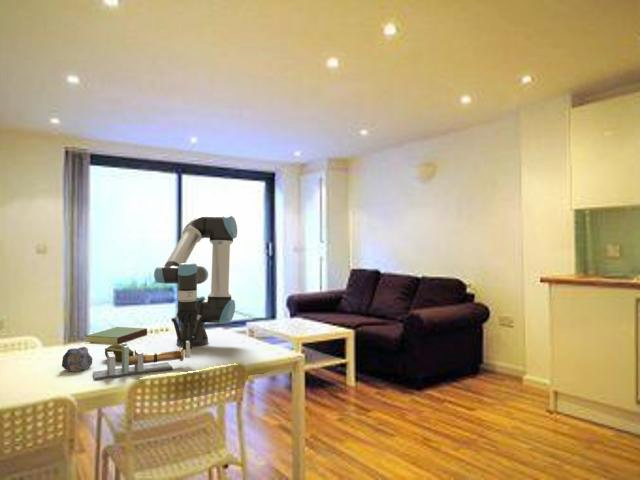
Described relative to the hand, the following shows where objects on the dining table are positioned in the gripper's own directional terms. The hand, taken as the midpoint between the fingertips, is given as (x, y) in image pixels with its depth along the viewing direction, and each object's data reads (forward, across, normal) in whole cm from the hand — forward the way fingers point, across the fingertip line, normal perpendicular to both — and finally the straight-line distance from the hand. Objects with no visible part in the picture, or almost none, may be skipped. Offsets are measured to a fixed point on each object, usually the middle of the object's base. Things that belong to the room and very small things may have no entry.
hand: (187, 357), depth 190 cm
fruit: (+4, -24, +22) cm, 33 cm away
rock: (+4, -40, +15) cm, 43 cm away
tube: (+1, -12, 0) cm, 12 cm away
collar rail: (+3, -21, 0) cm, 21 cm away
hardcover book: (+4, -18, +71) cm, 74 cm away
